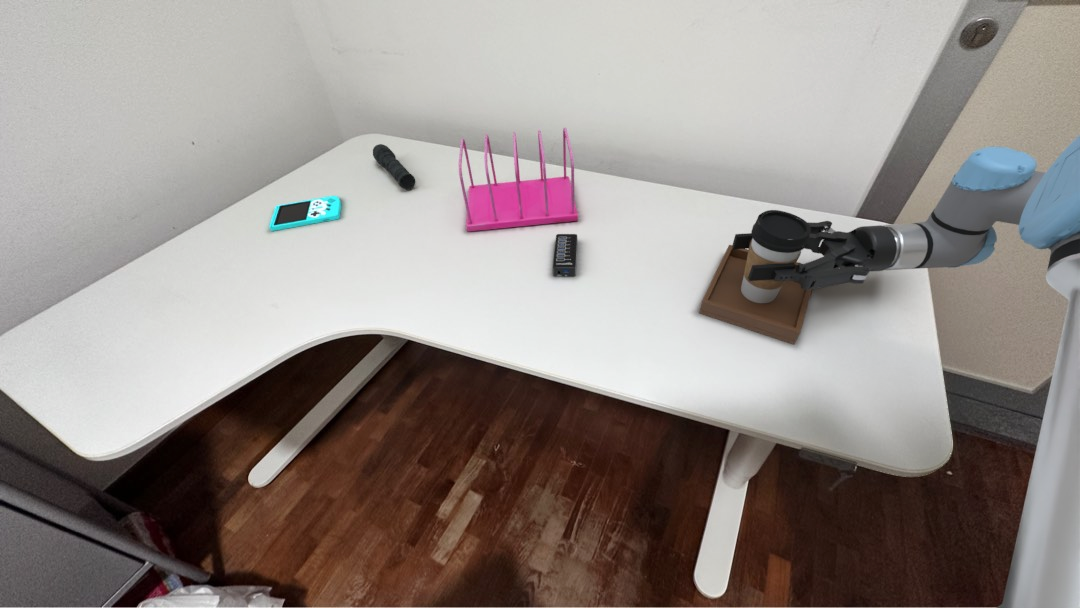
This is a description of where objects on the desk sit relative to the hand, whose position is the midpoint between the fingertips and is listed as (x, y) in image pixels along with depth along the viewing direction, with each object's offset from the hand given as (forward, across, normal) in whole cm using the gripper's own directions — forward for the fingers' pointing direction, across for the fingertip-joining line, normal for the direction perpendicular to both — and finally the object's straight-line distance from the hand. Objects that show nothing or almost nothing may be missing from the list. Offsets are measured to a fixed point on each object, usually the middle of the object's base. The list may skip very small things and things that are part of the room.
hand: (742, 256), depth 76 cm
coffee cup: (-5, 0, -9) cm, 10 cm away
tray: (-5, 0, -10) cm, 11 cm away
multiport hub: (+29, +14, -10) cm, 34 cm away
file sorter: (+38, +34, -10) cm, 52 cm away
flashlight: (+72, +54, -10) cm, 91 cm away
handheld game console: (+91, +37, -10) cm, 99 cm away
